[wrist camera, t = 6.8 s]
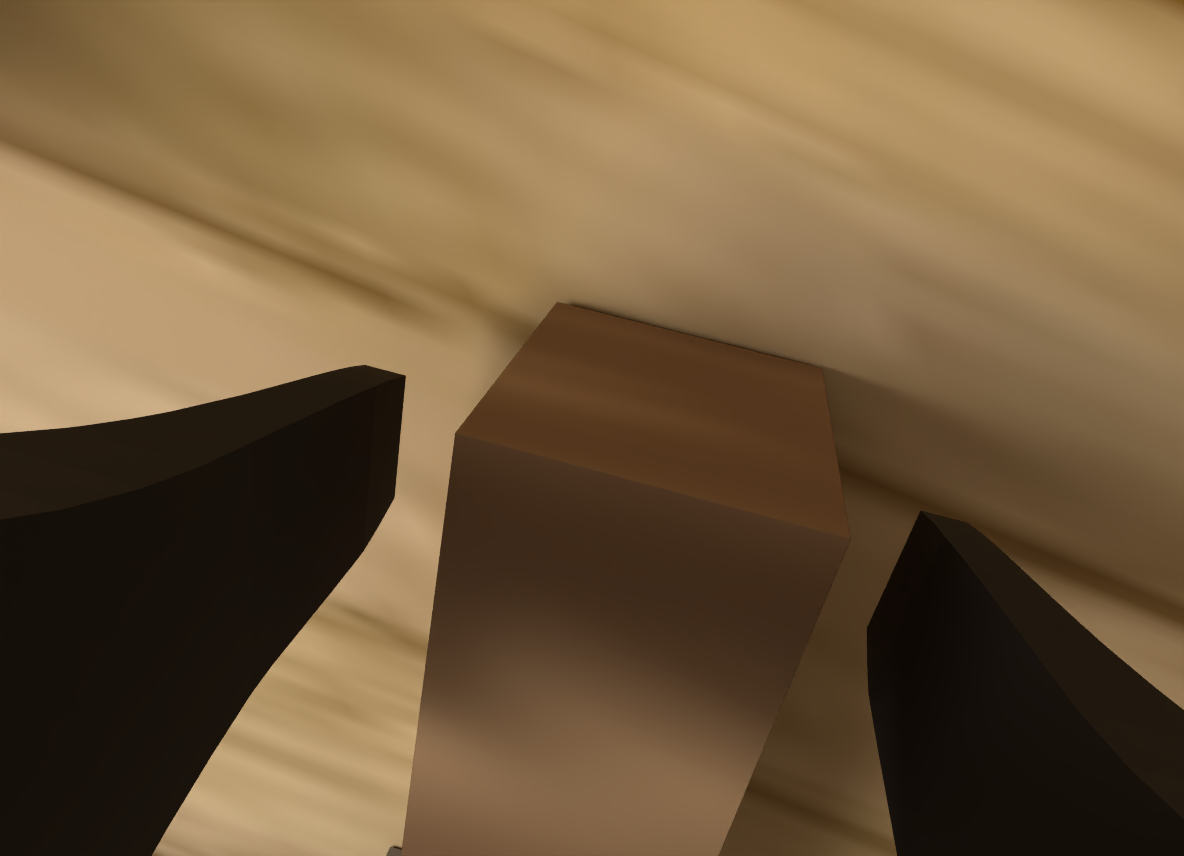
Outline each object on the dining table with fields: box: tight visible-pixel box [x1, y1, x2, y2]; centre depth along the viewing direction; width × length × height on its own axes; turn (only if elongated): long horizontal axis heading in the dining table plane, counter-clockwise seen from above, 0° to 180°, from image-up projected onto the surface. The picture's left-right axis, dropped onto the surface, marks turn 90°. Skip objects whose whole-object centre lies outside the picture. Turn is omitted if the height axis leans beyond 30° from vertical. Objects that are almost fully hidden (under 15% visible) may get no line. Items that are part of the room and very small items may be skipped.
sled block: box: [401, 302, 851, 856], centre depth 13 cm, size 14×4×4 cm, turn 169°
